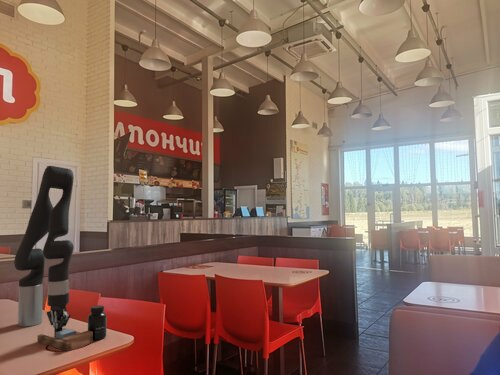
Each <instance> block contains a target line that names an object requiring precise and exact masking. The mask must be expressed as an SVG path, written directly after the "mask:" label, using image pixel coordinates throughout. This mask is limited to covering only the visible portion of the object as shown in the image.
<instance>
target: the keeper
mask: <svg viewBox="0 0 500 375" xmlns="http://www.w3.org/2000/svg"><path fill="white" fill-rule="evenodd" d="M65 329H66V330H62V331H59V332H56V338H57V339H60V340H63V338H66V337H69V336H72V335H75V334H76V330H74V329H70V328H65Z"/></svg>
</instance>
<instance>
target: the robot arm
mask: <svg viewBox="0 0 500 375" xmlns="http://www.w3.org/2000/svg"><path fill="white" fill-rule="evenodd" d="M73 186H74V172H73V170H72V169H70V168H65V167H61V166H54V165H47V167H46V168H45V169H44V171H43V174H42V177H41V181H40V185H39V190H38V194H37V197H36V201H35V203H34V206H33V209H32V211H31V213H30V217H29V220H28V224H27V227H26V229H25V233H24V235H23V238H22V241H21V243H20V245H19V246H18V249H17V250H16V253H15V257H14V260H13V264H14V268H15V269H16V270H17V271H30V272H29V273H28V274H27V275H26V276H23V277H22V278H20V279H19V280H18V306H17V307H18V312H17V314H18V315H17V318H18V319H17V324H18V326H19V327H32V326H37V325H40V324H42V323H43V282H44V281H43V279H44V277H45V276H44V275H45V259H47V260H59V259H63V260H62V261H61V262H60V263H57V264H53V265H50V266H49V267H48V270H47V272H48V273H47V275H48V276H47V277H48V278H47V279H48V280H47V281H48V282H47V295H46V296H47V302H46V303H47V306H48V307H49V311H46V315H47V318H48V321H49V324H50V326H52V327H53V328H54V337H53V338H56V332H59V331H62V328H64V327H66V326H67V325H68V322H69V320H70V318H71V314H70V313H68V312H67V311H68V310H67V304H69V303H70V281H69V271H70V270H69V267H70V263H71V260H72V255H73V253H74V244H73V242H72V241H71V240H67V239H65V240H63V239H62V240H57V239H58V238H60V237H64V236H66V235H68V234H69V225H70V223H69V222H70V221H69V216H70V215H69V214H70V205H71V200H72V193H73ZM50 189H56V190H62V194H61V197H60V199H59V200H58V201H57V203H56V204H55V205H54V206H53V204H52V202H51V199H50ZM45 236H47V238H46V241H45V243H44V246H43V248H38V247H36V248H34V247H35V246H36V245H37V244H38V243H39V242H40V240H42V239H43V238H44V237H45Z"/></svg>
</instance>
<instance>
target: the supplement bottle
mask: <svg viewBox="0 0 500 375" xmlns="http://www.w3.org/2000/svg"><path fill="white" fill-rule="evenodd" d="M107 320H108V319H107V313H106V312H105V306H104V305H99V304H98V305H93V306H91V307H90V314H88V317H87V331H92V332H93V342H94V341H101V340H103V339H105V338H106V336H107Z"/></svg>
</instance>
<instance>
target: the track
mask: <svg viewBox="0 0 500 375" xmlns="http://www.w3.org/2000/svg"><path fill="white" fill-rule="evenodd" d="M66 329H67V328H65V327H62V330H66ZM75 331H76V330H75ZM93 342H94V341H93V332H92V331H88V330H84V331H82V332H80V331H76V334H75V335H72V336H69V337H66V338H63V340H60V339H57V338H55V337H53V336H49V335H46V334H42V333H41V334H40V333H39V334H37V343H38V344H39V343H40V344H43V345H47V346H48V347H49V346H50V347H52V348H56V349H59V350H62V351H65V352H70V351H72V350H76V349H78V348H81V347H84V346H87V345H90V344H92V343H93Z"/></svg>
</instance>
